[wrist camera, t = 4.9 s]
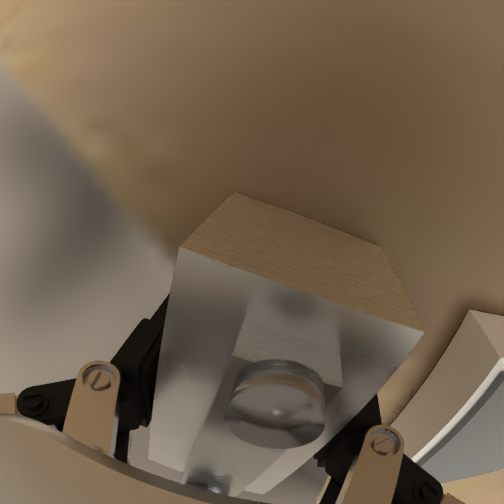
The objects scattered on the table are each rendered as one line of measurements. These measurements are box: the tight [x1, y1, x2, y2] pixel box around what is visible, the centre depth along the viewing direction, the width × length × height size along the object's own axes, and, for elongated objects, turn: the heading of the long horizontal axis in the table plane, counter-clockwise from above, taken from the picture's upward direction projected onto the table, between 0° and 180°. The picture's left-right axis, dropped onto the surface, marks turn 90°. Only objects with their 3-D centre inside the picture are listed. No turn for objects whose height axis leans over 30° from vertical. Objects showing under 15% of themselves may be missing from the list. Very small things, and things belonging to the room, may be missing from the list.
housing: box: [148, 192, 425, 497], centre depth 8 cm, size 10×5×6 cm, turn 163°
